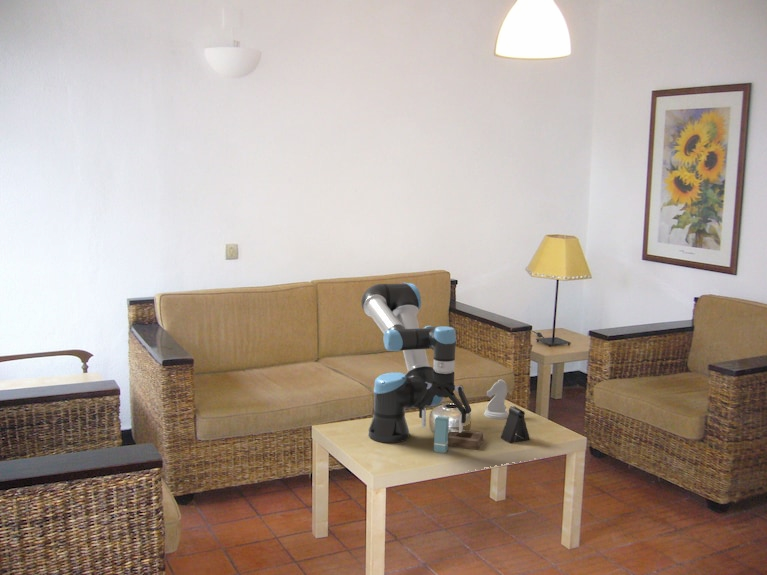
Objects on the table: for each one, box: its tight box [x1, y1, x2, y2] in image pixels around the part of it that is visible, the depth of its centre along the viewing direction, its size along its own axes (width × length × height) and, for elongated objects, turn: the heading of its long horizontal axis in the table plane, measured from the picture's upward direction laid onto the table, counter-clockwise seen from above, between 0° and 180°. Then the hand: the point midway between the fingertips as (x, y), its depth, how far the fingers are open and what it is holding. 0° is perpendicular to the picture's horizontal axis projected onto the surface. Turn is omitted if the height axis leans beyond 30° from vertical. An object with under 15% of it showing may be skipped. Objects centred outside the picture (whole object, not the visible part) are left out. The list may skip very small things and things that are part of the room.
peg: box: [433, 415, 450, 454], centre depth 279 cm, size 4×4×12 cm
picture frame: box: [500, 405, 531, 444], centre depth 293 cm, size 9×6×12 cm, turn 114°
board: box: [448, 429, 484, 450], centre depth 288 cm, size 12×10×3 cm
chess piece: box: [483, 379, 509, 420], centre depth 319 cm, size 10×10×15 cm
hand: (441, 429), depth 279 cm, fingers open, 13 cm apart
